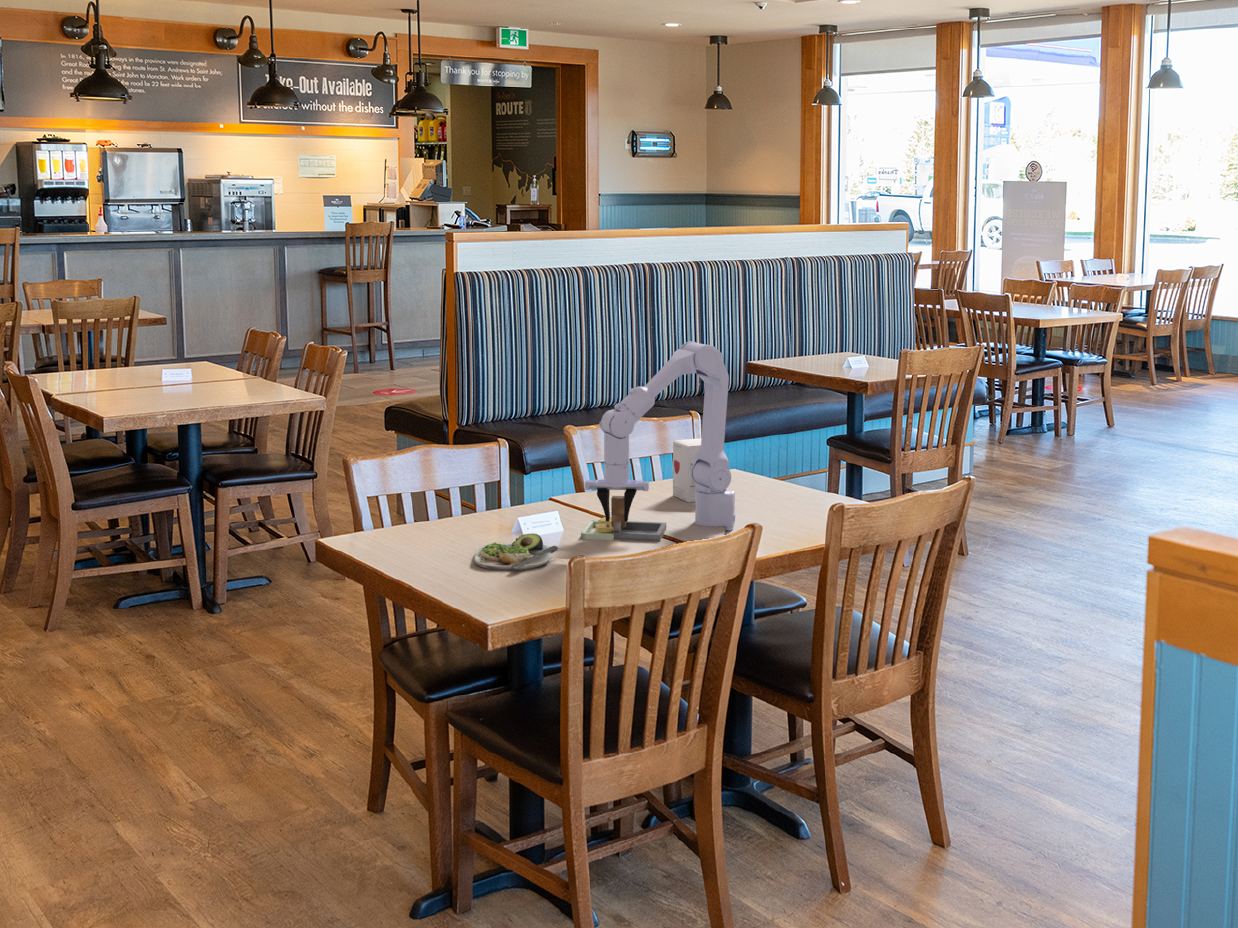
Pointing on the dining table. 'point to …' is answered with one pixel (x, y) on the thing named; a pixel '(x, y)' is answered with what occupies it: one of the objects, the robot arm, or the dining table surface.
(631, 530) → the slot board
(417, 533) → the dining table surface
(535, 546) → the salad plate
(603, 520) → the brushed gold cube
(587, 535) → the tray
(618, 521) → the brown block with peg
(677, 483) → the supplement box
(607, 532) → the chip
